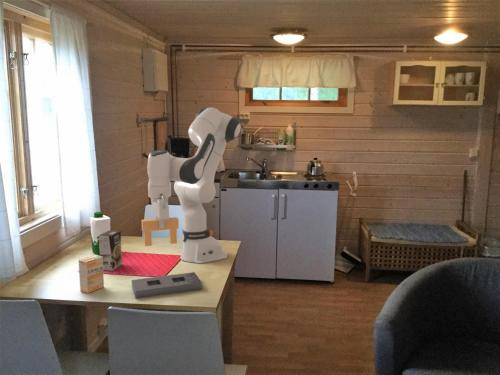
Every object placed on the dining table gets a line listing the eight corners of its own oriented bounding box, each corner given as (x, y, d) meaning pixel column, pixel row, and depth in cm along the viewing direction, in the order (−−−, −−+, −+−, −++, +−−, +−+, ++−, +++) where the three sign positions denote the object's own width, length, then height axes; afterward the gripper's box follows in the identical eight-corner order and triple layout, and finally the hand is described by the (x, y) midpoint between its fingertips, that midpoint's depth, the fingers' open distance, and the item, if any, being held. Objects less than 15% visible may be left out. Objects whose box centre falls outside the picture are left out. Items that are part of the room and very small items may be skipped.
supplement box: (88, 294, 179) (86, 262, 177) (79, 291, 182) (77, 259, 180) (104, 287, 186) (103, 256, 184) (96, 284, 189) (95, 254, 186)
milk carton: (107, 248, 236) (105, 210, 232) (114, 253, 229) (112, 214, 225) (90, 252, 230) (87, 213, 227) (96, 256, 223) (94, 216, 220)
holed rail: (194, 278, 195) (194, 272, 195) (201, 289, 184) (201, 282, 184) (131, 287, 186) (131, 280, 186) (135, 298, 175) (135, 291, 175)
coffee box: (113, 271, 204) (111, 236, 201) (99, 270, 206) (98, 235, 203) (122, 264, 213) (121, 230, 210) (110, 263, 214) (108, 229, 211)
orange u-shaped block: (177, 241, 187) (176, 217, 185) (178, 243, 184) (178, 218, 183) (142, 244, 182) (141, 219, 181) (143, 246, 180) (142, 221, 178)
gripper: (172, 196, 171) (173, 232, 174) (163, 187, 190) (164, 219, 193) (155, 197, 169) (156, 233, 172) (148, 188, 188) (149, 221, 190)
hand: (160, 226), depth 182 cm, fingers closed on orange u-shaped block, 3 cm apart
